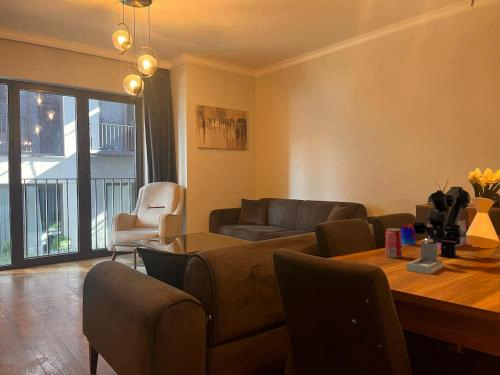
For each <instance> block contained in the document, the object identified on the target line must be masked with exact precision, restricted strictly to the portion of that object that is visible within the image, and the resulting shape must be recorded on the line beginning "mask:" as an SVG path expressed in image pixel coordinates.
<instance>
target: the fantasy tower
mask: <svg viewBox="0 0 500 375" xmlns="http://www.w3.org/2000/svg"><path fill="white" fill-rule="evenodd" d="M400 231H401V233H402V247H404V248H412V247H421V243H420V244H417V243H416V235H417V233H415V230H414V228H413V224H412V223H408V224H407V223H405V224H403V225H402V226H401V228H400Z"/></svg>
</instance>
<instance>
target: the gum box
mask: <svg viewBox="0 0 500 375" xmlns="http://www.w3.org/2000/svg"><path fill="white" fill-rule="evenodd" d="M430 225H431V224H430ZM457 225H460V227H461V231H462V236H461V237H460V245H456V247H461V246H466V245H467V221H466V219H465V220H459V221H458V224H457ZM434 233H436V231H435V232H434ZM427 236H428V235H427ZM427 238H430V236H428V237H427ZM443 241H446V240H443ZM453 242H455V241H453ZM437 249H440V250H441V243H438V242H437Z"/></svg>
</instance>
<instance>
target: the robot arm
mask: <svg viewBox="0 0 500 375" xmlns="http://www.w3.org/2000/svg"><path fill="white" fill-rule="evenodd" d="M430 201H431V204H432V207H433V209H435V210H429V211H428V214H427V215H428V216H427V220H428V223H427V225H425V222H424V221H414V222H413V224H412V225H413V228H414V230H415V233H416V235H424V234H426V233H427V236H430V238H431V239H433V242H436V243H437V242H438V243H441V249H440V254H437V257H438V256H439V257H442V258H449V259H452V258H453V259H454V258H460V255H458V254H457V246H456V245H460V237H461V236H462V231H461V227H460V225H457V224H458V221H460V218H461V215H462V212H463V210H464V209H467V208H468V207H469V205H470V204H471V195H470V194H469V192H468V191H466V190H465V189H464V188H463V187H461V186H451V187H450V189H449V190H447V191H446V192H444V193H443V190H441V189H440V190H436V192H433V193H432V194H431V195H430ZM430 224H431V225H430ZM435 231H436V233H434V232H435ZM443 240H446V241H443ZM453 241H455V242H453Z"/></svg>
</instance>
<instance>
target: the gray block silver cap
mask: <svg viewBox="0 0 500 375" xmlns="http://www.w3.org/2000/svg"><path fill="white" fill-rule="evenodd" d="M420 244H421V246H420V258H421V263H425V264H432V263H434V262H436V261H438V248H437V243H436V242H433V239H431V238H428V237H427V238H426V237H425V238H424V241H422V242H420Z"/></svg>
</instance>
